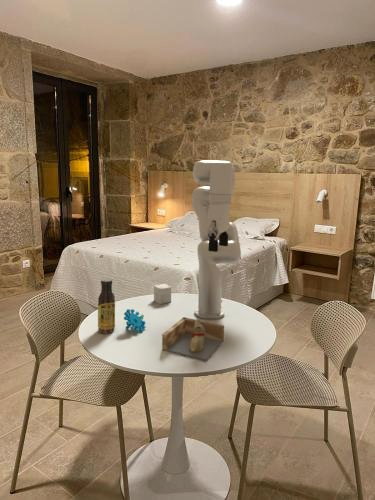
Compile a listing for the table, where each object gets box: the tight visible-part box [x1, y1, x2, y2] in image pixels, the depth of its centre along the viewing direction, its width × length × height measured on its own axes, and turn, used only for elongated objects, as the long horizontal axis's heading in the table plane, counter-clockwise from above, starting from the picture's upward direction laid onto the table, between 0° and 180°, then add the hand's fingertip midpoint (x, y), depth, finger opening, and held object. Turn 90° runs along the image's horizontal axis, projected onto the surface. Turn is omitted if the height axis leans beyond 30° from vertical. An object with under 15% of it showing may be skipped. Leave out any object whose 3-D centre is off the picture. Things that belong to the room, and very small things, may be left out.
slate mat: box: [163, 333, 225, 362], centre depth 128 cm, size 16×16×1 cm
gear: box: [123, 308, 147, 333], centre depth 140 cm, size 11×6×10 cm
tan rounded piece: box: [189, 319, 205, 353], centre depth 124 cm, size 6×8×10 cm
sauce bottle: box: [97, 278, 116, 334], centre depth 136 cm, size 6×6×20 cm
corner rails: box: [161, 316, 225, 352], centre depth 127 cm, size 16×16×6 cm
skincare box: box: [153, 283, 172, 305], centre depth 169 cm, size 6×6×7 cm
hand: (218, 248), depth 129 cm, fingers open, 9 cm apart
